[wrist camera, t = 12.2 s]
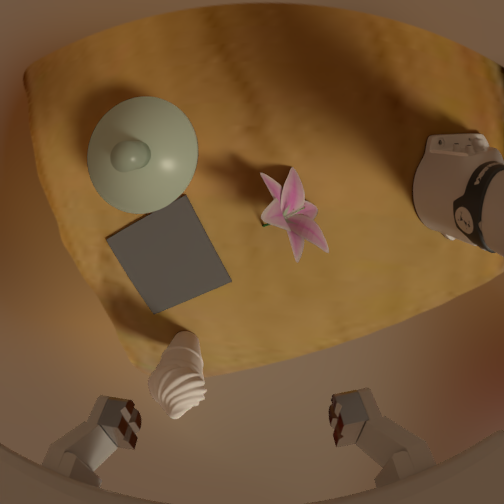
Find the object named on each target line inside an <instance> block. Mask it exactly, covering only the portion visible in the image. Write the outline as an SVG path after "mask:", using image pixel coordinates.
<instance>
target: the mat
mask: <svg viewBox="0 0 504 504" xmlns="http://www.w3.org/2000/svg"><path fill="white" fill-rule="evenodd" d="M107 242H108V244H109V246H110V247H111V249H112V251H113V252H114V254H115V256H116V257H117V259H118V261H119V262H120V264H121V266H122V267H123V269H124V270H125V272H126V274H127V275H128V277H129V278H130V280H131V281H132V283H133V284H134V286H135V288H136V289H137V291H138V292H139V294H140V295H141V297H142V298H143V299H144V301H145V302H146V304H147V305H148V307H149V308H150V310H151V311H152V312H153V314H156V313H159V312H161V311H164V310H166V309H168V308H171V307H173V306H176V305H178V304H180V303H183V302H185V301H187V300H190V299H192V298H195V297H197V296H199V295H202V294H204V293H206V292H209V291H211V290H213V289H216V288H218V287H220V286H223V285H225V284H227V283H230V282H232V280H231V278H230V276H229V275H228V273H227V271H226V269H225V267H224V265H223V264H222V262H221V260H220V258H219V256H218V254H217V252H216V251H215V249H214V247H213V245H212V243H211V241H210V239H209V238H208V236H207V234H206V232H205V230H204V228H203V226H202V224H201V222H200V221H199V219H198V217H197V215H196V213H195V211H194V209H193V207H192V205H191V203H190V201H189V199H188V198H187V196H186V195H185V196H183V197H181V198H179V199H177V200H175V201H173V202H172V203H171V204H169V205H167V206H166V207H164V208H162V209H160V210H157V211H155V212H153V213H151V214H149V215H148V216H146V217H144V218H142V219H141V220H139V221H137V222H135V223H133V224H132V225H130V226H128V227H127V228H125V229H123V230H121V231H120V232H118V233H116V234H115V235H113V236H111V237H110V238H108V239H107Z"/></svg>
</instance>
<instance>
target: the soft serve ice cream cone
mask: <svg viewBox="0 0 504 504" xmlns="http://www.w3.org/2000/svg"><path fill="white" fill-rule="evenodd" d="M204 383H205V381H204V376H203V360H202V357H201V351H200V345H199V340H198V338H197V336H196V335H195V334H193V333H191V332H188V331H181V332H179V333H177V334H176V335H175V337H174V338H173V340H172V341H171V343H170V344H169V346H168V347H167V349H166V350H165V351H164V352H163V353H162V356H161V360H160V363H159V364H158V365H157V367H156V370H154V371H153V372H152V373H151V375H150V377H149V380H148V386H149V391H150V394H151V395H152V397H153V399H154V400H156V402H158V403H159V404H160V406H161V407H162V408H163V410H164V411H165V412H166V413H167V415H168V416H169V417H171V418H172V419H177V418H180V416H182V415H183V414H184V413H185V412H186V411H187V410H190V409H191V407H192V406H198V405H199V401H201V400H204V399H205V397H204V395H203V394H204V393H206V391H207V390H206V388H204V386H203V385H204Z"/></svg>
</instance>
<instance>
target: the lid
mask: <svg viewBox="0 0 504 504" xmlns="http://www.w3.org/2000/svg"><path fill="white" fill-rule="evenodd" d="M197 161H198V141H197V137H196V133H195V130H194V128H193V126H192V124H191V122H190V120H189V119H188V118H187V116H186V115H185V114H184V113H183V112H182V111H181V110H180V109H179V108H178V107H176V106H175V105H173V104H172V103H170V102H168V101H166V100H163V99H160V98H156V97H135V98H132V99H128V100H126V101H123V102H121V103H119V104H118V105H116V106H114V107H113V108H112V109H111V110H109V111H108V112H107V113H106V114H105V115H104V116H103V117H102V119H101V120H100V121H99V122H98V124H97V126H96V127H95V129H94V131H93V134H92V136H91V139H90V142H89V147H88V154H87V164H88V171H89V175H90V178H91V181H92V183H93V185H94V187H95V189H96V190H97V192H98V193H99V194H100V196H101V197H102V198H103V199H104V200H105V201H106V202H107V203H109V204H110V205H111V206H113V207H115V208H117V209H119V210H121V211H124V212H128V213H135V214H145V213H150V212H154V211H157V210H160V209H162V208H164V207H166V206H167V205H169V204H171V203H172V202H173V201H174V200H176V199H177V198H178V197H179V196H180V195H181V194H182V193H183V192H184V190H185V189H186V188H187V186H188V185H189V183H190V181H191V180H192V178H193V175H194V173H195V170H196V166H197Z"/></svg>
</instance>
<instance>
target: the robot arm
mask: <svg viewBox="0 0 504 504" xmlns="http://www.w3.org/2000/svg"><path fill="white" fill-rule="evenodd" d="M439 142H440V143H439ZM413 199H414V205H415V209H416V212H417V214H418V216H419V218H420V220H421V221H422V222H423V223H424V225H426V226H427V227H428V228H430V229H432V230H435V231H439V232H441V233H442V234H443V235H444V236H445V237H446V238H447V239H449V240H454V239H458V240H461V241H464V242H466V243H469V244H471V245H474V246H479V247H480V248H481V249H483V250H485V251H489V252H491V253H498V254H500V255H501V256H503V257H504V161H503V158H502V156H501V154H500V152H499V151H498V150H497V149H496V148H493V147H489V144H488V142H487V140H486V138H485V137H484V135H483V134H479V133H464V134H441V135H431V136H429V137H428V140H427V144H426V150H425V154H424V157H423V158H422V160H421V162H420V164H419V166H418V168H417V171H416V174H415V178H414V184H413ZM331 401H332V404H331V405H330V407H329V421H330V425H331V427H333V428H334V433H333V437H334V441H335V445H336V447H341V446H346V445H350V444H356V445H357V446H358V447H359V448H361V449H362V450H363V451H364V452H365V453H366V454H367V455H368V456H370V457H371V458H372V459H373V460H374V461H375V462H377V463H378V464H379V465H380V466H381V467H383V469H382V470H381V471H380V473H379V474H378V475H377V476H376V478H375V479H374V480H375V483H376V487H377V488H374V489H371V490H367V491H364V492H360V493H356V494H352V495H348V496H344V497H339V498H335V499H329V500H324V501H318V502H312V503H306V504H504V431H503V430H499V431H496V432H494V433H493V434H491V435H490V436H488V437H486V438H485V439H483V440H482V441H480V442H478V443H477V444H475V445H473V446H471V447H470V448H468V449H466V450H464V451H463V452H461V453H459V454H457V455H455V456H453V457H451V458H449V459H447V460H445V461H443V462H441V463H439V464H437V465H436V462H435V460H434V458H433V456H432V453H431V451H430V449H429V447H428V445H427V443H426V441H424V440H423V439H421V438H420V437H418V436H416V435H415V434H413V433H411V432H410V431H408V430H406V429H405V428H403V427H402V426H400V425H398V424H397V423H395V422H394V421H392V420H391V419H389V418H387V417H386V416H384V417H382V415H381V413H380V411H379V408H378V406H377V404H376V401H375V399H374V397H373V395H372V392H371V390H370V389H369V388H364V389H359V390H353V391H348V392H344V393H338V394H333V395H332V398H331ZM134 405H135V404H134V403H133V401H132V400H127V399H120V398H115V397H109V396H103V395H100V396H99V397H98V398H97V401H96V403H95V405H94V407H93V410H92V411H91V414H90V416H89V418H88V420H87V422H83V423H81V424H80V425H79V426H77V427H76V428H75V429H73V430H71V431H70V432H68V433H67V434H65V435H64V436H63V437H61V438H60V439H58V440H57V441H55V442H54V443H52V444H51V445H50V447H49V449H48V451H47V454H46V456H45V458H44V460H43V463H42V465H39V464H37V463H35V462H33V461H31V460H29V459H27V458H26V457H24V456H22V455H20V454H18V453H16V452H14V451H12V450H11V449H9V448H7V447H6V446H4V445H3V444H1V443H0V504H169V503H162V502H156V501H150V500H146V499H141V498H136V497H131V496H127V495H123V494H119V493H116V492H112V491H108V490H104V489H102V488H100V486H101V482H102V480H101V478H100V477H99V476H98V475H96V474H95V473H94V471H95V470H96V469H97V468H98V467H99V466H100V465H101V464H102V463H103V462H104V461H105V460H106V459H107V458H108V457H109V456H110V455H111V454H112V453H113V452H114V451H115V450H116V449H117V447H120V448H126V449H132V450H134V449H135V446H136V442H137V436H136V433H137V432H138V431H139V430H140V428H141V415H140V413H139V411H138V410H136V409H135V408H134Z"/></svg>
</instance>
